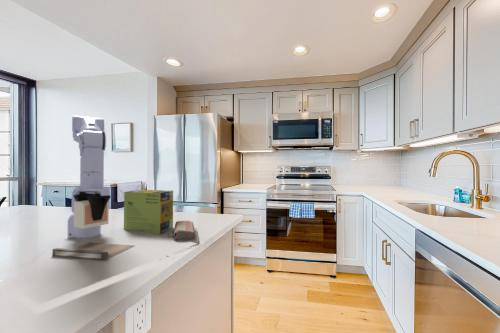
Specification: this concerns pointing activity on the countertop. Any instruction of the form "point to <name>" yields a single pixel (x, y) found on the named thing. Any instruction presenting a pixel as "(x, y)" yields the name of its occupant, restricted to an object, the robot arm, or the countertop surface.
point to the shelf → (92, 251)
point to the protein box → (148, 210)
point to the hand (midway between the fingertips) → (91, 218)
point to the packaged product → (184, 232)
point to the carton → (88, 215)
